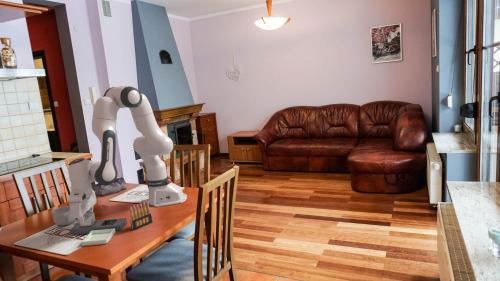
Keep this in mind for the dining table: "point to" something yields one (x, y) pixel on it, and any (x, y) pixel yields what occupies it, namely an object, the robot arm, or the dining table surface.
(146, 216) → the ammunition clip
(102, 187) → the geode
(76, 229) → the rail
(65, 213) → the teacup
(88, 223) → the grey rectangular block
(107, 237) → the tray
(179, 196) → the robot arm
